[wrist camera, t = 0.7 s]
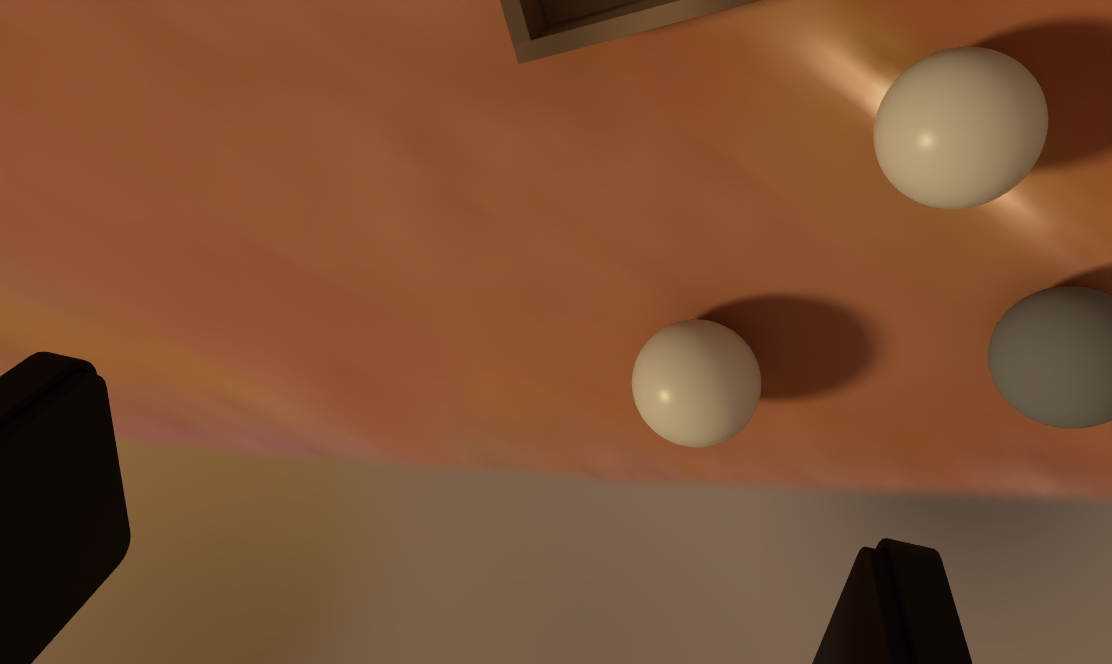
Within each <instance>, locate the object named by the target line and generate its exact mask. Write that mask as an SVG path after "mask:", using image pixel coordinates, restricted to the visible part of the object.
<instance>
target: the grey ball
mask: <svg viewBox="0 0 1112 664" xmlns="http://www.w3.org/2000/svg"><path fill="white" fill-rule="evenodd" d="M988 361H989V369H990V372H991V375H992V378H993V381H994V383H995V385H996V387H997V389H998V390H999V392H1000V394H1001V395H1002V396H1003V397H1004V399H1005V400H1006V401H1007V402H1008V403H1009V404H1010V405H1011V406H1012V407H1013V408H1014V409H1016V410H1017V411H1019V412H1020V413H1021V414H1023V415H1025V416H1026V417H1028V418H1030V419H1032V420H1034V421H1037V422H1040V423H1042V424H1045V425H1049V426H1053V427H1059V428H1074V429H1075V428H1086V427H1092V426H1096V425H1100V424H1103V423H1106V422H1109V421H1111V420H1112V296H1111V295H1109V294H1107V293H1104V292H1102V291H1099V290H1095V289H1091V288H1087V287H1079V286H1062V287H1054V288H1049V289H1045V290H1042V291H1038V292H1036V293H1033V294H1031V295H1029V296H1027V297H1025V298H1023V299H1022V300H1020V301H1019V302H1017V303H1016V304H1015V305H1013V306H1012V307H1011V308H1010V309H1009V310H1008V311H1007V312H1006V313H1005V314H1004V315H1003V317H1002V318H1001V320H1000V321H999V322H998V324H997V325H996V327H995V329H994V331H993V334H992V337H991V340H990V344H989V350H988Z"/></svg>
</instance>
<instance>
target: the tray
mask: <svg viewBox="0 0 1112 664" xmlns="http://www.w3.org/2000/svg"><path fill="white" fill-rule="evenodd" d="M756 1H760V0H500V2H501V5H502V8H503V12H504V15H505V19H506V22H507V25H508V29H509V32H510V36H511V39H512V43H513V46H514V49H515V53H516V56H517V60H518V63H519V64H521V63H525V62H528V61H532V60H536V59H540V58H543V57H547V56H551V55H555V54H559V53H562V52H566V51H570V50H574V49H578V48H581V47H585V46H589V45H593V44H597V43H600V42H604V41H608V40H612V39H616V38H619V37H623V36H627V35H631V34H635V33H638V32H642V31H646V30H650V29H654V28H657V27H661V26H665V25H669V24H673V23H676V22H680V21H684V20H688V19H692V18H695V17H699V16H703V15H707V14H710V13H714V12H718V11H722V10H726V9H729V8H733V7H737V6H741V5H745V4H748V3H752V2H756Z"/></svg>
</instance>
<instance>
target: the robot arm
mask: <svg viewBox="0 0 1112 664" xmlns="http://www.w3.org/2000/svg"><path fill="white" fill-rule="evenodd" d="M129 544H130V527H129V521H128V515H127V509H126V503H125V497H124V491H123V484H122V478H121V472H120V467H119V461H118V454H117V448H116V441H115V435H114V429H113V423H112V417H111V411H110V405H109V398H108V392H107V386H106V383H105V380H104V379H103V378H102V377H101V376H98V375H97V372H96V369H95V367H94V366H93V365H92V364H91V363H90V362H88V361H85V360H81V359H77V358H72V357H68V356H63V355H59V354H54V353H50V352H37V353H35V354H33V355H31V356H29V357H28V358H26V359H25V360H24V361H22V362H21V363H19V364H18V365H16V366H15V367H13V368H12V369H10V370H9V371H8V372H6V373H5V374H3V375H2V376H0V664H31V663H32V662H33V661H34V660H35V659H36V658H37V656H38V655H39V654H40V653H41V652H42V651H43V650H44V649H45V647H46V646H47V645H48V644H49V643H50V642H51V641H52V640H53V638H54V637H55V636H56V635H57V634H58V633H59V632H60V630H61V629H62V628H63V627H64V626H65V625H66V624H67V623H68V621H69V620H70V619H71V618H72V617H73V616H74V615H75V614H76V612H77V611H78V610H79V609H80V608H81V607H82V606H83V605H84V603H85V602H86V601H87V600H88V599H89V598H90V597H91V596H92V594H93V593H94V592H95V591H96V590H97V589H98V588H99V587H100V585H101V584H102V583H103V582H104V581H105V580H106V579H107V578H108V577H109V575H110V574H111V573H112V572H113V571H114V570H115V569H116V568H117V566H118V565H119V564H120V563H121V561H122V560H123V559H124V557H125V555H126V553H127V550H128V547H129ZM812 664H972V660H971V657H970V654H969V650H968V647H967V643H966V640H965V637H964V634H963V630H962V627H961V623H960V620H959V616H958V613H957V610H956V607H955V603H954V600H953V596H952V593H951V589H950V586H949V583H948V579H947V576H946V573H945V569H944V566H943V562H942V559H941V557H940V555H939V553H938V552H937V551H936V550H935V549H932V548H928V547H924V546H919V545H914V544H910V543H905V542H901V541H897V540H892V539H888V538H886V539H882V540H881V541H880V542H879V543H878V545H877V547H876V549H873V548H869V547H863V548H862V549H861V550H860V551H859V553H858V555H857V557H856V560H855V562H854V564H853V567H852V569H851V572H850V574H849V577H848V579H847V582H846V584H845V586H844V589H843V591H842V593H841V596H840V598H839V601H838V603H837V605H836V608H835V610H834V613H833V615H832V618H831V620H830V623H829V625H828V627H827V630H826V632H825V634H824V637H823V639H822V642H821V644H820V646H819V649H818V651H817V654H816V656H815V658H814V661H813V663H812Z"/></svg>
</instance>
